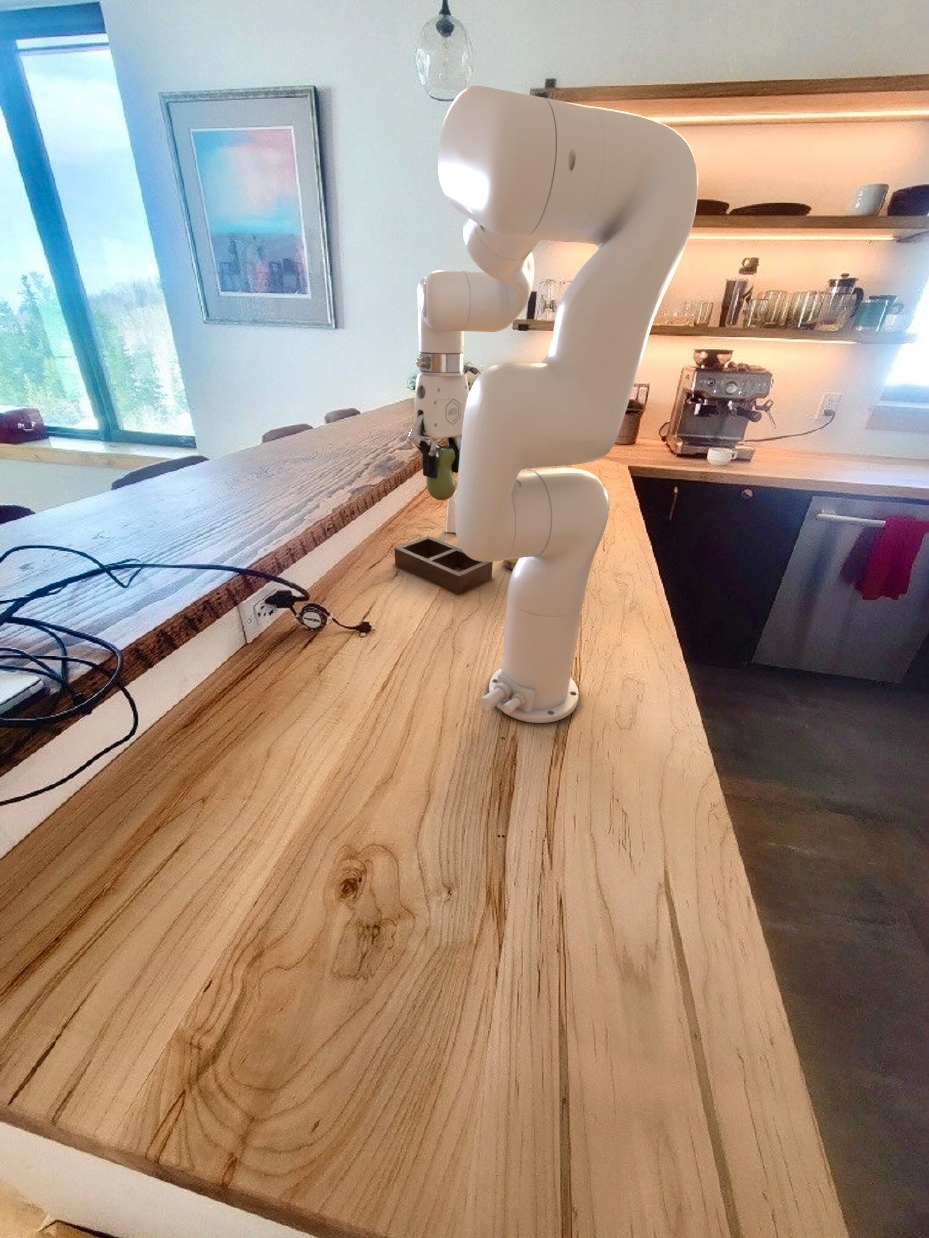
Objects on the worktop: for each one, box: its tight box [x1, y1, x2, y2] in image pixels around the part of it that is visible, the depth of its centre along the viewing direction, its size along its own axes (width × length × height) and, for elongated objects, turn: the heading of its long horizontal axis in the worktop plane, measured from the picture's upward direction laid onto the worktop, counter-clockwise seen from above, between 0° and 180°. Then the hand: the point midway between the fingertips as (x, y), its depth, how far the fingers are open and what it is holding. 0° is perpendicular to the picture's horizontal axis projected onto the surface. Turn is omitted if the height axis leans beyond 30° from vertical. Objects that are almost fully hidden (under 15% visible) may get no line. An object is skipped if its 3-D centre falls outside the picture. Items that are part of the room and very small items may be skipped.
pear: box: [426, 443, 457, 501], centre depth 94 cm, size 6×5×10 cm
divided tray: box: [393, 535, 494, 596], centre depth 104 cm, size 10×19×4 cm, turn 47°
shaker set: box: [445, 491, 456, 534], centre depth 122 cm, size 12×4×11 cm, turn 76°
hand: (441, 473), depth 93 cm, fingers closed on pear, 5 cm apart
